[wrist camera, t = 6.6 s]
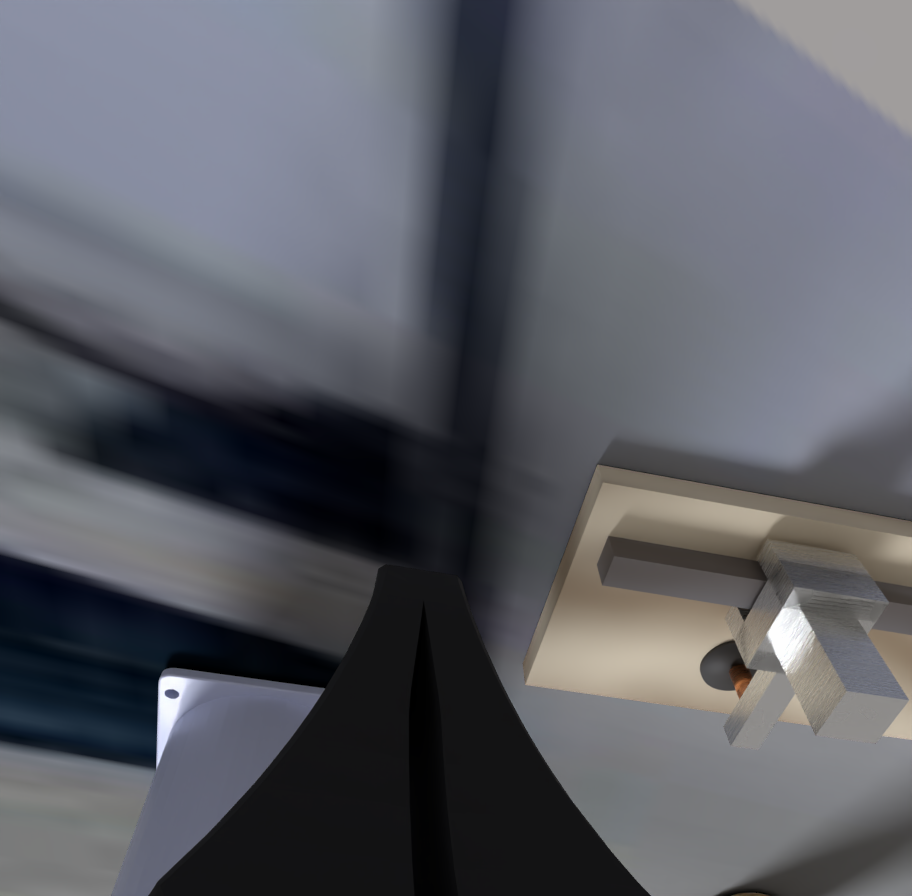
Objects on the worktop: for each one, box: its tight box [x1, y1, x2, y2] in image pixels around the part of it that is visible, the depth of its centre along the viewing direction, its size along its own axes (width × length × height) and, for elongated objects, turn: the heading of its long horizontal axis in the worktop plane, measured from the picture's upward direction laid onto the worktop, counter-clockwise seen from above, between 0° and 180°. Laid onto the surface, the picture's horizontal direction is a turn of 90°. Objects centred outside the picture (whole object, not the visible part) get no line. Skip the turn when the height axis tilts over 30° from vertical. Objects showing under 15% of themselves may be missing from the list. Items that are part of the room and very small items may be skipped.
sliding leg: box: [723, 539, 909, 750], centre depth 24 cm, size 7×3×5 cm, turn 168°
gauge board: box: [523, 464, 912, 740], centre depth 27 cm, size 9×20×2 cm, turn 78°
